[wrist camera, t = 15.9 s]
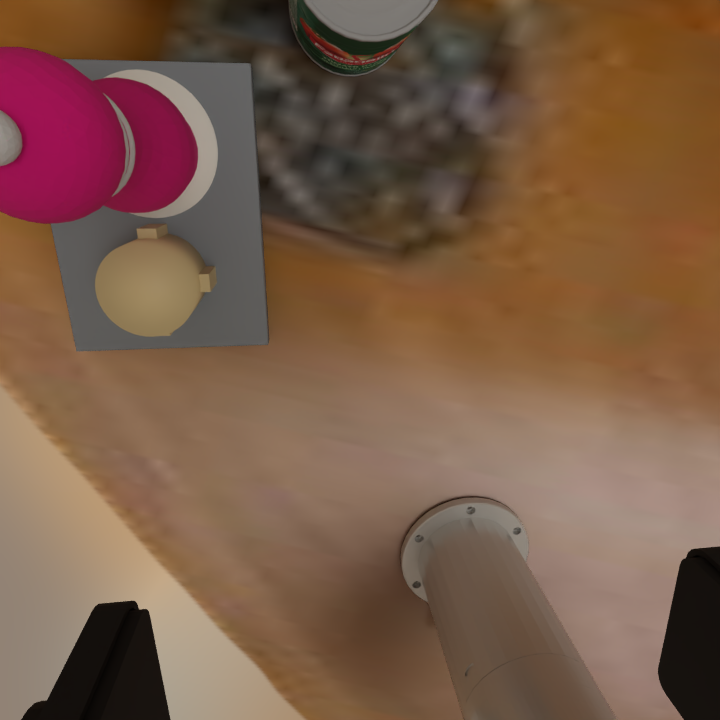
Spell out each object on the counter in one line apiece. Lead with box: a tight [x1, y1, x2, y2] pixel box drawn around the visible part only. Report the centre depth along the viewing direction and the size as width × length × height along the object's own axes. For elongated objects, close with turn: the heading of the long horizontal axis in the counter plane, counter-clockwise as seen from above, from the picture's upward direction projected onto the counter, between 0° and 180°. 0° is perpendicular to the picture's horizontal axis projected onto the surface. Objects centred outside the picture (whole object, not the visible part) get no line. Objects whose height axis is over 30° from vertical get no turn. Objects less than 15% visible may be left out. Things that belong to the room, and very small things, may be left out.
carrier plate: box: [51, 59, 269, 351], centre depth 34 cm, size 19×14×6 cm
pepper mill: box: [0, 47, 198, 224], centre depth 25 cm, size 7×7×20 cm
